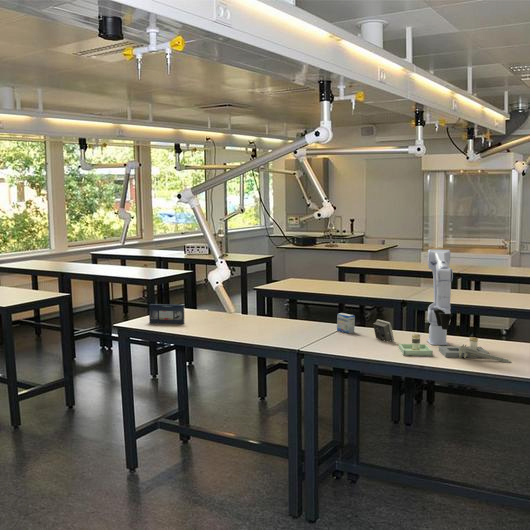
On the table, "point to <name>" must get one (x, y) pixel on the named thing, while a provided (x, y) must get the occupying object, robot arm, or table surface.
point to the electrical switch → (383, 330)
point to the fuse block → (457, 351)
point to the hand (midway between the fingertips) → (442, 327)
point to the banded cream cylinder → (415, 342)
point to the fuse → (473, 343)
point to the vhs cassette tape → (166, 313)
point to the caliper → (480, 354)
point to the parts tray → (407, 350)
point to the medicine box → (345, 322)
